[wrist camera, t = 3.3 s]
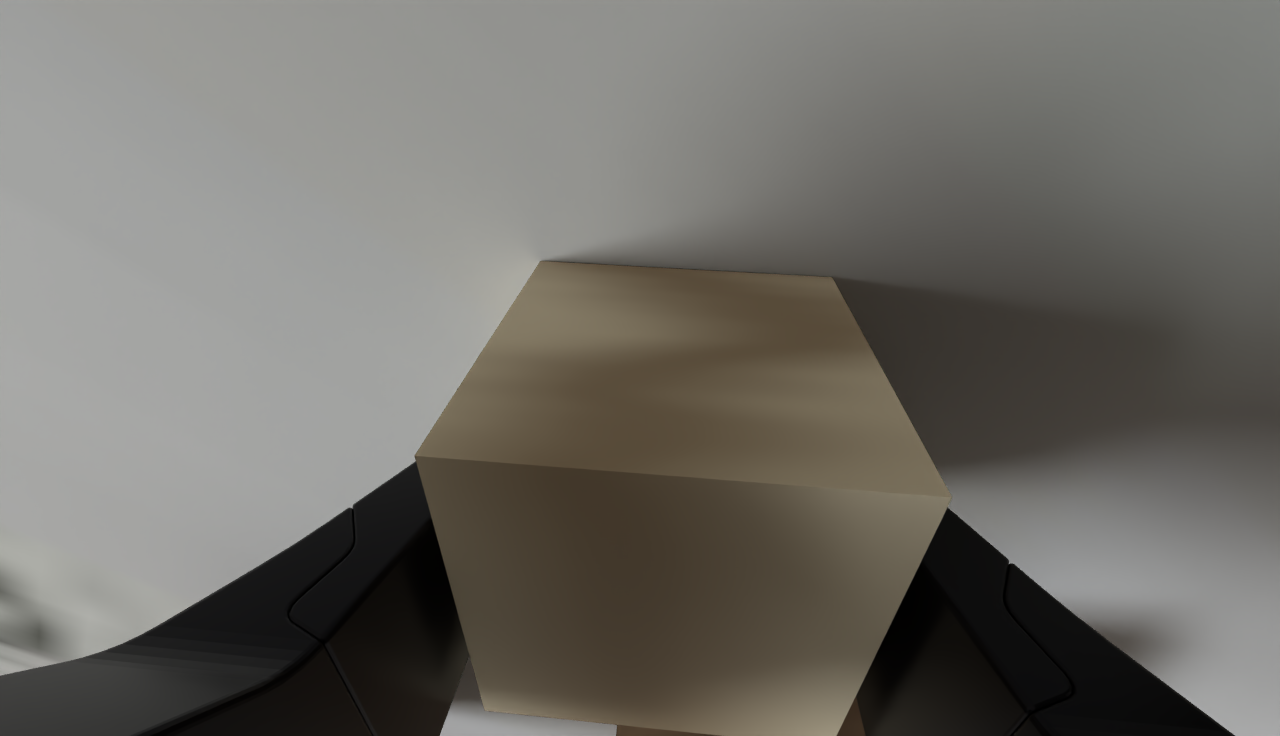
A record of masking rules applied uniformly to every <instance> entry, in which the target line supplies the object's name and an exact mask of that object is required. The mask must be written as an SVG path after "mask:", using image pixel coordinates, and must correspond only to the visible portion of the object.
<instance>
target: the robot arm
mask: <svg viewBox="0 0 1280 736" xmlns="http://www.w3.org/2000/svg"><path fill="white" fill-rule="evenodd" d="M468 657H469V652H468V648H467V645H466V641H465V637H464V634H463V630H462V626H461V623H460V619H459V615H458V612H457V608H456V605H455V601H454V597H453V594H452V590H451V586H450V583H449V579H448V576H447V572H446V568H445V565H444V561H443V557H442V554H441V550H440V546H439V543H438V539H437V536H436V532H435V528H434V525H433V521H432V517H431V514H430V510H429V506H428V503H427V499H426V496H425V492H424V488H423V485H422V481H421V477H420V474H419V470H418V467H417V463H416V462H414V463H413V464H411V465H410V466H408V467H407V468H406V469H404V470H403V471H401V472H400V473H398V474H397V475H395V476H394V477H393V478H391V479H390V480H388V481H387V482H385V483H384V484H382V485H381V486H379V487H378V488H377V489H375V490H374V491H372V492H371V493H369V494H368V495H366V496H365V497H364V498H362V499H361V500H359V501H358V502H356V503H355V504H354V505H353V509H352V508H347V509H346V510H345V511H343V512H342V513H340V514H339V515H337V516H336V517H334V518H333V519H331V520H330V521H329V522H327V523H326V524H324V525H323V526H321V527H320V528H318V529H317V530H315V531H314V532H312V533H311V534H309V535H307V536H306V537H304V538H303V539H301V540H300V541H298V542H297V543H295V544H294V545H292V546H291V547H289V548H287V549H286V550H284V551H282V552H281V553H279V554H278V555H276V556H274V557H273V558H271V559H269V560H268V561H266V562H264V563H263V564H261V565H260V566H258V567H256V568H255V569H253V570H251V571H250V572H248V573H246V574H244V575H243V576H241V577H239V578H238V579H236V580H234V581H233V582H231V583H229V584H228V585H226V586H224V587H222V588H221V589H219V590H217V591H216V592H214V593H212V594H211V595H209V596H207V597H206V598H204V599H202V600H200V601H199V602H197V603H195V604H194V605H192V606H190V607H189V608H187V609H185V610H184V611H182V612H180V613H178V614H177V615H175V616H173V617H172V618H170V619H168V620H167V621H165V622H163V623H162V624H160V625H158V626H156V627H154V628H153V629H151V630H149V631H147V632H145V633H144V634H142V635H140V636H138V637H135V638H133V639H131V640H129V641H127V642H125V643H123V644H120V645H118V646H115V647H112V648H110V649H107V650H105V651H102V652H99V653H96V654H92V655H89V656H86V657H83V658H79V659H75V660H71V661H67V662H62V663H57V664H53V665H48V666H43V667H39V668H34V669H29V670H25V671H20V672H15V673H11V674H6V675H1V676H0V736H440V733H441V730H442V728H443V725H444V722H445V719H446V717H447V714H448V711H449V709H450V706H451V703H452V700H453V698H454V695H455V692H456V689H457V687H458V684H459V681H460V679H461V676H462V673H463V670H464V668H465V665H466V662H467V660H468ZM856 699H857V703H858V707H859V711H860V715H861V719H862V723H863V727H864V732H865V736H1235V735H1233V734H1232V733H1231V732H1229V731H1228V730H1227V729H1225V728H1224V727H1223V726H1221V725H1220V724H1219V723H1217V722H1216V721H1215V720H1213V719H1212V718H1211V717H1209V716H1208V715H1207V714H1205V713H1204V712H1203V711H1201V710H1200V709H1199V708H1197V707H1196V706H1195V705H1193V704H1192V703H1191V702H1189V701H1188V700H1187V699H1185V698H1184V697H1183V696H1181V695H1180V694H1179V693H1177V692H1176V691H1175V690H1173V689H1172V688H1171V687H1169V686H1168V685H1167V684H1165V683H1164V682H1163V681H1161V680H1160V679H1159V678H1157V677H1156V676H1155V675H1153V674H1152V673H1151V672H1149V671H1148V670H1147V669H1145V668H1144V667H1143V666H1141V665H1140V664H1139V663H1137V662H1136V661H1135V660H1133V659H1132V658H1131V657H1129V656H1128V655H1127V654H1125V653H1124V652H1123V651H1121V650H1120V649H1119V648H1117V647H1116V646H1115V645H1113V644H1112V643H1111V642H1110V641H1108V640H1107V639H1106V638H1104V637H1103V636H1102V635H1100V634H1099V633H1098V632H1097V631H1095V630H1094V629H1093V628H1091V627H1090V626H1089V625H1088V624H1086V623H1085V622H1084V621H1082V620H1081V619H1080V618H1078V617H1077V616H1076V615H1075V614H1073V613H1072V612H1071V611H1070V610H1068V609H1067V608H1066V607H1065V606H1064V605H1062V604H1061V603H1060V602H1059V601H1057V600H1056V599H1055V598H1054V597H1053V596H1051V595H1050V594H1049V593H1048V592H1047V591H1045V590H1044V589H1043V588H1042V587H1040V586H1039V585H1038V584H1037V583H1036V582H1034V581H1033V580H1032V579H1031V578H1030V577H1029V576H1027V575H1026V574H1025V573H1024V572H1023V571H1022V570H1020V569H1019V568H1018V567H1017V566H1016V565H1015V564H1012V563H1011V564H1009V560H1008V559H1007V558H1006V557H1005V556H1004V555H1003V554H1001V553H1000V552H999V551H998V550H997V549H996V548H994V547H993V546H992V545H991V544H990V543H989V542H987V541H986V540H985V539H984V538H983V537H982V536H980V535H979V534H978V533H977V532H976V531H975V530H973V529H972V528H971V527H970V526H969V525H968V524H966V523H965V522H964V521H963V520H962V519H960V518H959V517H958V516H957V515H956V514H955V513H953V512H952V511H951V510H950V509H949V508H948V507H947V509H946V511H945V514H944V516H943V518H942V520H941V522H940V524H939V526H938V528H937V530H936V532H935V534H934V536H933V538H932V540H931V542H930V544H929V546H928V549H927V551H926V553H925V555H924V557H923V559H922V561H921V563H920V565H919V567H918V569H917V571H916V573H915V575H914V577H913V579H912V581H911V584H910V586H909V588H908V590H907V592H906V594H905V596H904V598H903V600H902V602H901V604H900V606H899V608H898V610H897V612H896V614H895V616H894V618H893V621H892V623H891V625H890V627H889V629H888V631H887V633H886V635H885V637H884V639H883V641H882V643H881V645H880V647H879V649H878V651H877V653H876V656H875V658H874V660H873V662H872V664H871V666H870V668H869V670H868V672H867V674H866V676H865V678H864V680H863V682H862V684H861V686H860V688H859V691H858V693H857V695H856Z"/></svg>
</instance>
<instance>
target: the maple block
mask: <svg viewBox="0 0 1280 736" xmlns="http://www.w3.org/2000/svg"><path fill="white" fill-rule="evenodd" d="M415 459H416V463H417V467H418V470H419V474H420V477H421V481H422V485H423V488H424V492H425V496H426V499H427V503H428V506H429V510H430V514H431V517H432V521H433V525H434V528H435V532H436V536H437V539H438V543H439V546H440V550H441V554H442V557H443V561H444V565H445V568H446V572H447V576H448V579H449V583H450V586H451V590H452V594H453V597H454V601H455V605H456V608H457V612H458V615H459V619H460V623H461V626H462V630H463V634H464V637H465V641H466V645H467V648H468V652H469V655H470V659H471V663H472V666H473V670H474V674H475V677H476V681H477V685H478V688H479V692H480V695H481V699H482V703H483V706H484V710H485V711H492V712H501V713H511V714H520V715H530V716H539V717H549V718H558V719H568V720H577V721H587V722H596V723H606V724H615V725H624V726H634V727H643V728H653V729H662V730H672V731H681V732H691V733H700V734H710V735H719V736H837V734H838V732H839V730H840V728H841V726H842V723H843V721H844V719H845V717H846V715H847V713H848V711H849V709H850V707H851V705H852V703H853V701H854V699H855V697H856V695H857V693H858V691H859V688H860V686H861V684H862V682H863V680H864V678H865V676H866V674H867V672H868V670H869V668H870V666H871V664H872V662H873V660H874V658H875V656H876V653H877V651H878V649H879V647H880V645H881V643H882V641H883V639H884V637H885V635H886V633H887V631H888V629H889V627H890V625H891V623H892V621H893V618H894V616H895V614H896V612H897V610H898V608H899V606H900V604H901V602H902V600H903V598H904V596H905V594H906V592H907V590H908V588H909V586H910V584H911V581H912V579H913V577H914V575H915V573H916V571H917V569H918V567H919V565H920V563H921V561H922V559H923V557H924V555H925V553H926V551H927V549H928V546H929V544H930V542H931V540H932V538H933V536H934V534H935V532H936V530H937V528H938V526H939V524H940V522H941V520H942V518H943V516H944V514H945V511H946V509H947V507H948V505H949V503H950V501H951V499H952V496H951V495H950V493H949V491H948V489H947V487H946V485H945V484H944V482H943V480H942V478H941V476H940V474H939V473H938V471H937V469H936V467H935V465H934V463H933V462H932V460H931V458H930V456H929V454H928V452H927V450H926V449H925V447H924V445H923V443H922V441H921V439H920V438H919V436H918V434H917V432H916V430H915V428H914V427H913V425H912V423H911V421H910V419H909V417H908V416H907V414H906V412H905V410H904V408H903V406H902V405H901V403H900V401H899V399H898V397H897V395H896V394H895V392H894V390H893V388H892V386H891V384H890V383H889V381H888V379H887V377H886V375H885V373H884V372H883V370H882V368H881V366H880V364H879V362H878V361H877V359H876V357H875V355H874V353H873V351H872V350H871V348H870V346H869V344H868V342H867V340H866V339H865V337H864V335H863V333H862V331H861V329H860V328H859V326H858V324H857V322H856V320H855V318H854V317H853V315H852V313H851V311H850V309H849V307H848V306H847V304H846V302H845V300H844V298H843V296H842V295H841V293H840V291H839V289H838V287H837V285H836V284H835V282H834V280H833V278H832V277H818V276H800V275H782V274H764V273H746V272H728V271H710V270H692V269H674V268H656V267H638V266H620V265H602V264H583V263H565V262H547V261H540V262H539V264H538V266H537V267H536V269H535V270H534V272H533V273H532V275H531V276H530V278H529V279H528V281H527V283H526V284H525V286H524V287H523V289H522V290H521V292H520V293H519V295H518V296H517V298H516V300H515V301H514V303H513V304H512V306H511V307H510V309H509V310H508V312H507V313H506V315H505V317H504V318H503V320H502V321H501V323H500V324H499V326H498V327H497V329H496V330H495V332H494V334H493V335H492V337H491V338H490V340H489V341H488V343H487V344H486V346H485V348H484V349H483V351H482V352H481V354H480V355H479V357H478V358H477V360H476V361H475V363H474V365H473V366H472V368H471V369H470V371H469V372H468V374H467V375H466V377H465V378H464V380H463V382H462V383H461V385H460V386H459V388H458V389H457V391H456V392H455V394H454V395H453V397H452V399H451V400H450V402H449V403H448V405H447V406H446V408H445V409H444V411H443V412H442V414H441V416H440V417H439V419H438V420H437V422H436V423H435V425H434V426H433V428H432V430H431V431H430V433H429V434H428V436H427V437H426V439H425V440H424V442H423V443H422V445H421V447H420V448H419V450H418V451H417V453H416V454H415Z"/></svg>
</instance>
